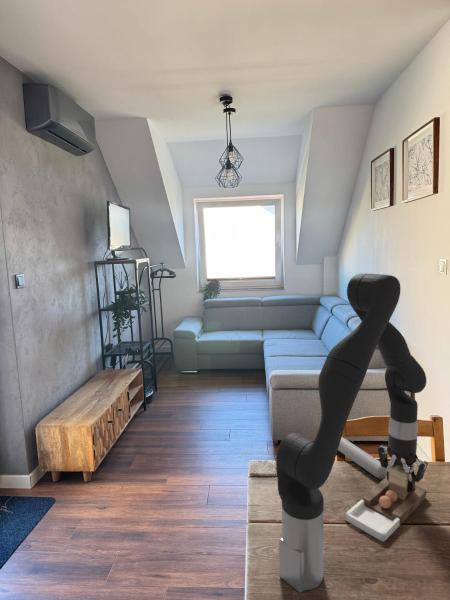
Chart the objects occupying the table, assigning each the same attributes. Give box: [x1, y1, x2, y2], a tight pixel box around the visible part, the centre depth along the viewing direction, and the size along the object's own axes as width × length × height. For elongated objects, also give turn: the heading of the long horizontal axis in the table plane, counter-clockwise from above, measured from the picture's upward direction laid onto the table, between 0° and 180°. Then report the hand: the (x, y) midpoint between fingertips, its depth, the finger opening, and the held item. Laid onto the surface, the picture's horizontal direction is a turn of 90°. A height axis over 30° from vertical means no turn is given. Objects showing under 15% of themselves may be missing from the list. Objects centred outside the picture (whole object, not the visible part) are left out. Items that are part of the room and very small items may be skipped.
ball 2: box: [386, 490, 398, 503], centre depth 114 cm, size 3×3×3 cm
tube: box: [337, 436, 387, 480], centre depth 136 cm, size 5×5×25 cm
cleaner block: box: [388, 465, 412, 500], centre depth 117 cm, size 4×5×8 cm
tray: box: [344, 499, 401, 543], centre depth 107 cm, size 8×11×2 cm
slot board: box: [361, 476, 427, 526], centre depth 115 cm, size 16×11×2 cm
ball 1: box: [379, 496, 391, 509], centre depth 112 cm, size 3×3×3 cm
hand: (400, 486), depth 117 cm, fingers closed on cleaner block, 5 cm apart
